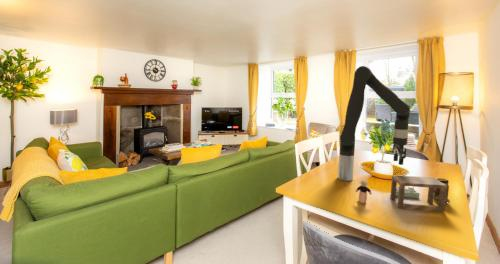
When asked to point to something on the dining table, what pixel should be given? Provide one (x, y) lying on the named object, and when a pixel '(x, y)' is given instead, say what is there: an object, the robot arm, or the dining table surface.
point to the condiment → (437, 191)
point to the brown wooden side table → (419, 182)
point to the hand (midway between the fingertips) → (398, 162)
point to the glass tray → (408, 192)
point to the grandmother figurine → (363, 192)
